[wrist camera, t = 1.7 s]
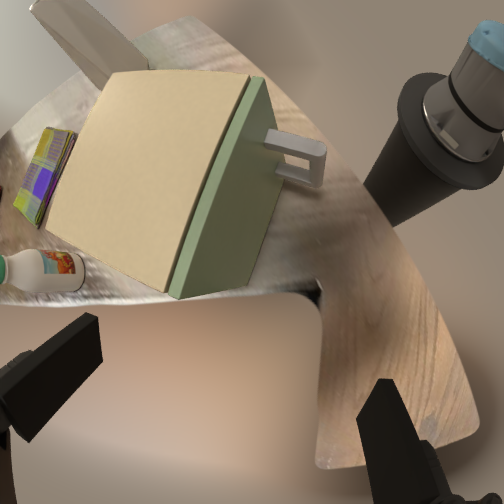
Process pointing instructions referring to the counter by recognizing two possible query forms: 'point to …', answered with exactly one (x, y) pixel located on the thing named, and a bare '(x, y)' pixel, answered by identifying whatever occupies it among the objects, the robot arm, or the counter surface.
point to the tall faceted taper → (89, 39)
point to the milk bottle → (42, 271)
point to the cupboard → (144, 168)
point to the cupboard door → (242, 197)
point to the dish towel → (43, 173)
